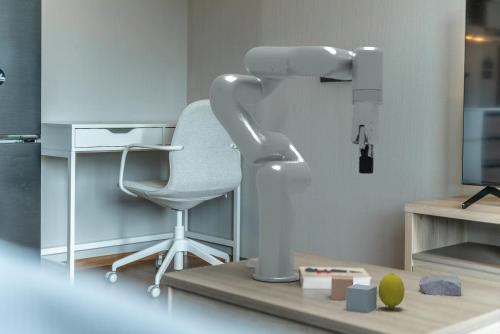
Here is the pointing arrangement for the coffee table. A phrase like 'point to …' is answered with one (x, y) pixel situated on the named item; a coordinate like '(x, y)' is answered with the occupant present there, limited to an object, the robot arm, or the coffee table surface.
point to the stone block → (440, 285)
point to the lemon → (391, 290)
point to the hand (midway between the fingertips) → (366, 173)
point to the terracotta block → (340, 286)
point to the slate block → (361, 298)
